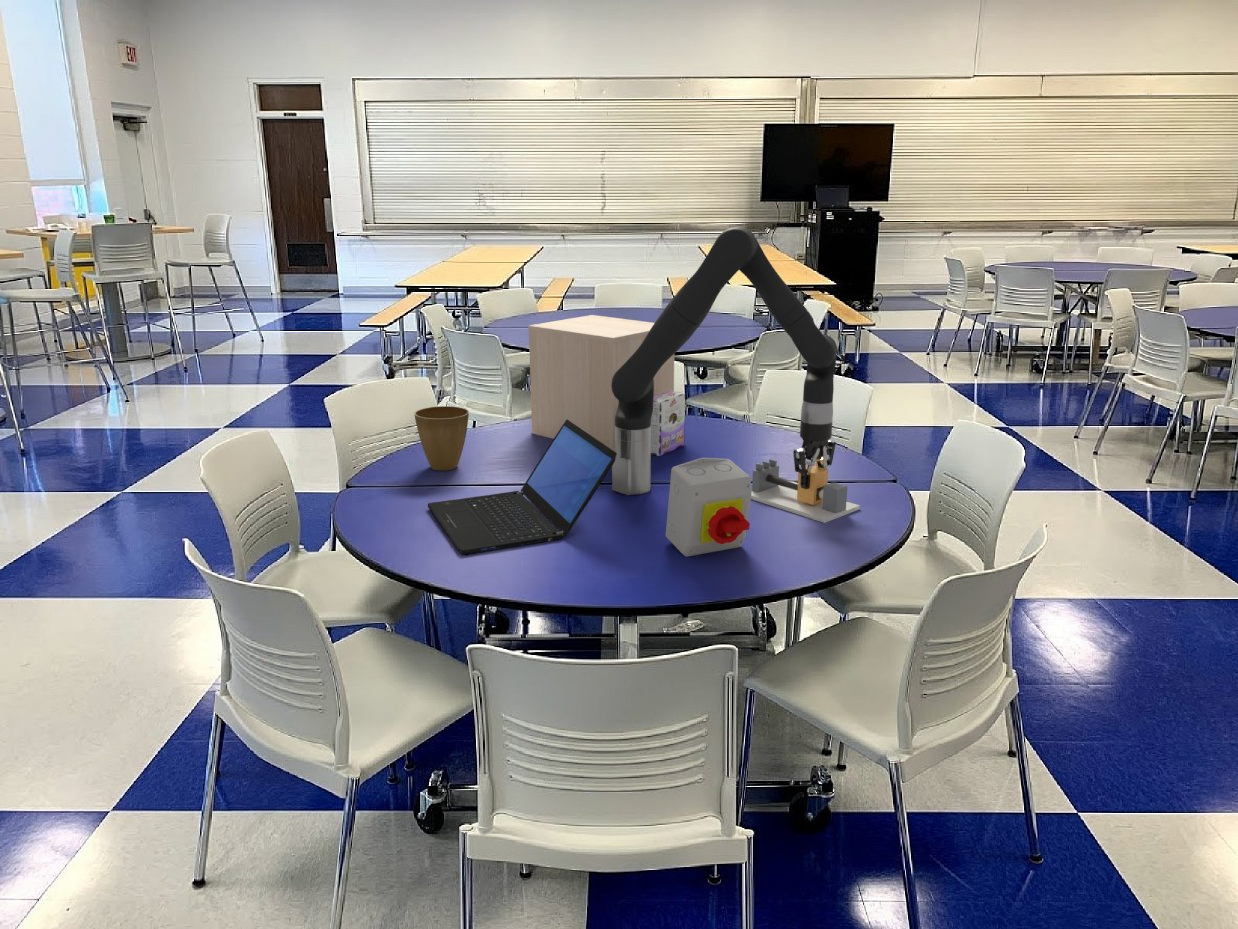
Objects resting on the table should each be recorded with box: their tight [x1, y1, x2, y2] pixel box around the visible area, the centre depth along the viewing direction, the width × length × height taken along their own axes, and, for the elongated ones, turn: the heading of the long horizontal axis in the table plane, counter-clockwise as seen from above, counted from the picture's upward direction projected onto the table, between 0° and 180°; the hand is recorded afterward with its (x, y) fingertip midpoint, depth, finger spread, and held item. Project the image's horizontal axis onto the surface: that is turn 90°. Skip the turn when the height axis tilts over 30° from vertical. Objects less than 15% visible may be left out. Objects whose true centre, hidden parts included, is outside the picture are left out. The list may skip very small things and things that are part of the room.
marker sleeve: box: [797, 465, 829, 505], centre depth 232 cm, size 5×5×8 cm
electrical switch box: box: [665, 457, 752, 558], centre depth 203 cm, size 15×15×20 cm
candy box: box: [651, 391, 686, 457], centre depth 279 cm, size 14×6×16 cm, turn 144°
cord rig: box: [751, 458, 861, 524], centre depth 234 cm, size 25×14×8 cm, turn 42°
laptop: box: [427, 419, 617, 555], centre depth 222 cm, size 33×38×19 cm
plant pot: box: [413, 405, 470, 471], centre depth 263 cm, size 15×15×16 cm
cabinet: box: [527, 314, 675, 452], centre depth 294 cm, size 35×29×34 cm
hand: (812, 485), depth 232 cm, fingers closed on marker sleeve, 5 cm apart
